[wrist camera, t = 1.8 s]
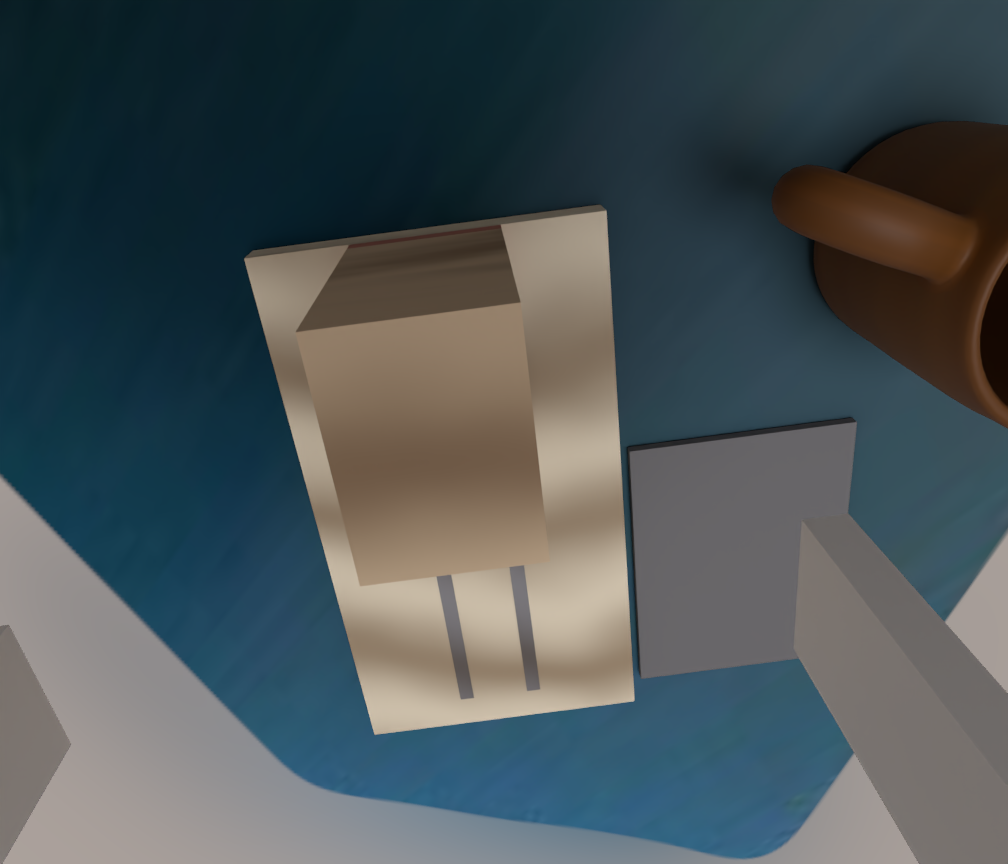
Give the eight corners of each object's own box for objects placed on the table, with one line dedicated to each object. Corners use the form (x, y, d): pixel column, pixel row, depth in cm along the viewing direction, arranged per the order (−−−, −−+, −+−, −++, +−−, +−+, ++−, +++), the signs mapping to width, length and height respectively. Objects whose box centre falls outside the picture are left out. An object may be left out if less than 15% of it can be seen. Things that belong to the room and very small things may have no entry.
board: (253, 250, 26) (243, 258, 25) (600, 204, 26) (606, 210, 24) (377, 714, 35) (374, 735, 34) (629, 681, 35) (634, 701, 34)
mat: (627, 447, 30) (629, 451, 29) (852, 417, 30) (856, 422, 29) (639, 672, 35) (641, 678, 35) (829, 647, 35) (833, 653, 35)
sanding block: (349, 244, 25) (295, 331, 16) (500, 224, 24) (520, 302, 16) (389, 434, 28) (360, 586, 20) (523, 416, 28) (550, 561, 20)
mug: (658, 267, 27) (750, 360, 18) (752, 38, 24) (914, 23, 15) (942, 358, 29) (1142, 478, 20) (1062, 159, 26) (1356, 204, 17)
